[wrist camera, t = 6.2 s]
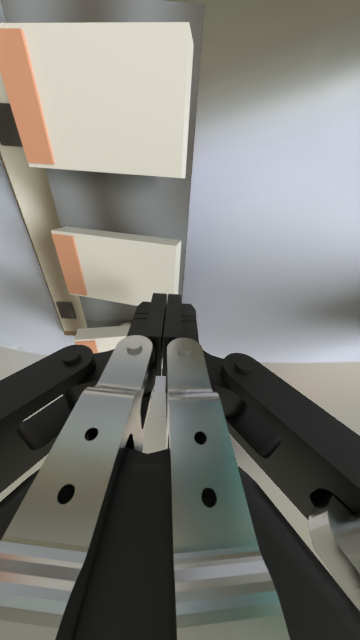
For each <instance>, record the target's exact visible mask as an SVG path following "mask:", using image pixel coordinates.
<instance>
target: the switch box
mask: <svg viewBox="0 0 360 640" xmlns="http://www.w3.org/2000/svg"><path fill="white" fill-rule="evenodd" d="M1 3H2V7H3V11H4V14H5V18H6V22H7V23H91V22H189V23H190V29H191V34H192V39H193V44H194V47H193V63H192V79H191V95H190V111H189V127H188V143H187V159H186V175H185V178H171V177H158V176H145V175H131V174H118V173H104V172H91V171H78V170H64V169H51V168H38V167H29V164H28V162H27V158H26V155H25V152H24V149H23V145H22V142H21V139H20V135H19V132H18V129H17V125H16V122H15V119H14V115H13V112H12V109H11V105H10V102H9V99H8V96H7V92H6V89H5V86H4V82H3V79H2V76H1V72H0V155H1V158H2V161H3V164H4V167H5V169H6V172H7V175H8V178H9V181H10V183H11V186H12V189H13V192H14V194H15V197H16V200H17V203H18V206H19V208H20V211H21V214H22V217H23V220H24V222H25V225H26V228H27V231H28V234H29V236H30V239H31V242H32V245H33V247H34V250H35V253H36V256H37V259H38V261H39V264H40V267H41V270H42V273H43V275H44V278H45V281H46V284H47V287H48V289H49V292H50V295H51V298H52V300H53V303H54V306H55V309H56V312H57V314H58V317H59V320H60V323H61V326H62V328H63V331H64V334H65V335H74V336H76V333H77V330H78V329H83V328H98V327H113V326H120V325H121V324H123V323H126V322H132V319H133V316H134V314H135V311H136V308H137V306H135V305H129V304H124V303H118V302H112V301H107V300H101V299H95V298H90V297H84V296H78V295H72V294H69V292H68V288H67V285H66V282H65V278H64V275H63V272H62V268H61V265H60V261H59V258H58V255H57V251H56V248H55V244H54V241H53V238H52V233H51V230H54V229H58V228H62V227H65V226H68V227H77V228H85V229H93V230H102V231H110V232H118V233H126V234H135V235H143V236H151V237H160V238H168V239H176V240H181V256H180V272H179V288H178V294H181V296H182V292H183V279H184V266H185V253H186V240H187V227H188V214H189V201H190V188H191V175H192V161H193V148H194V135H195V122H196V109H197V96H198V83H199V70H200V57H201V44H202V31H203V18H204V4H194V3H184V2H174V1H164V0H1Z"/></svg>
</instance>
